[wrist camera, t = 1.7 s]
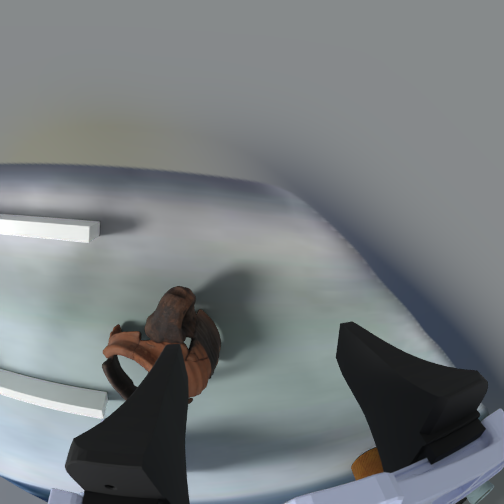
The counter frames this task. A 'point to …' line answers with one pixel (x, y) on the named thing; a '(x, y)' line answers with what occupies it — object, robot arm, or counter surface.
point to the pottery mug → (167, 332)
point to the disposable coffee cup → (367, 464)
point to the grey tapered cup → (480, 492)
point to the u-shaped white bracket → (34, 388)
